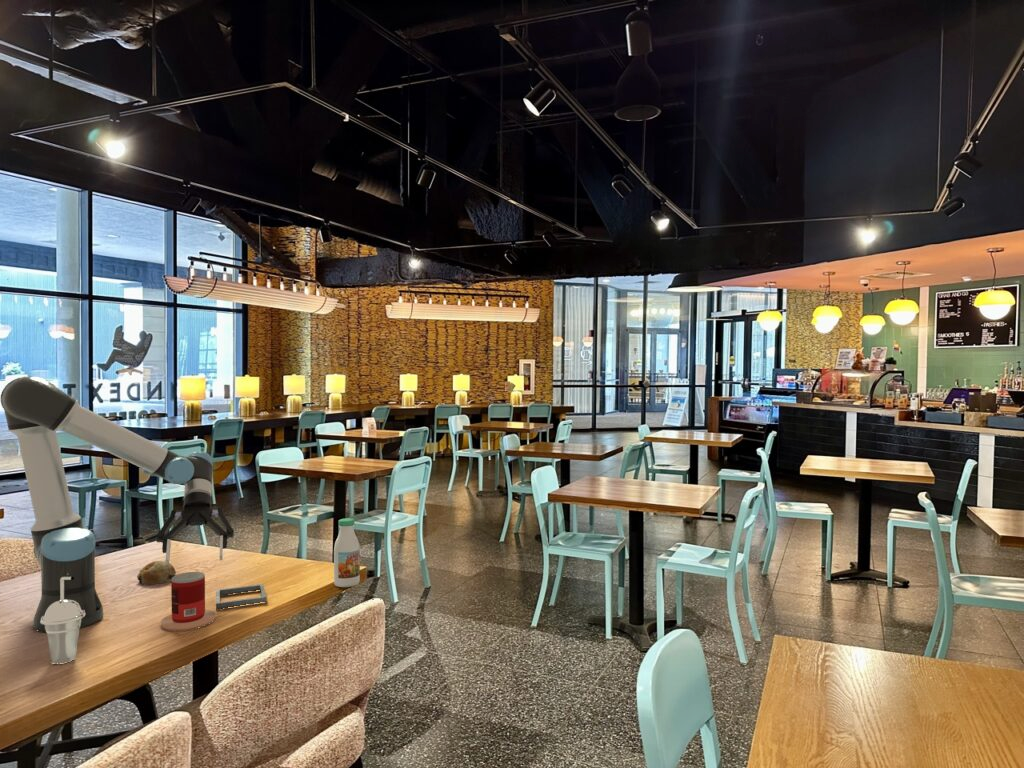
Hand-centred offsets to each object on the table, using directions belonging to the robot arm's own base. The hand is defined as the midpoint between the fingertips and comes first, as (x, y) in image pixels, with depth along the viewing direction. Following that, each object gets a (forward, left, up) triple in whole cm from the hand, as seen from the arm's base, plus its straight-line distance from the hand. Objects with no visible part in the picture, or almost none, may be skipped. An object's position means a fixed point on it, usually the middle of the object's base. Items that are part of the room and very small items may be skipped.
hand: (194, 560), depth 186 cm
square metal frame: (+9, -8, -13) cm, 17 cm away
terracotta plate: (-9, -11, -12) cm, 19 cm away
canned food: (-9, -11, -12) cm, 18 cm away
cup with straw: (-38, -9, -13) cm, 41 cm away
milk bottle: (+35, -24, -13) cm, 44 cm away
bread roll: (+7, +31, -13) cm, 34 cm away
